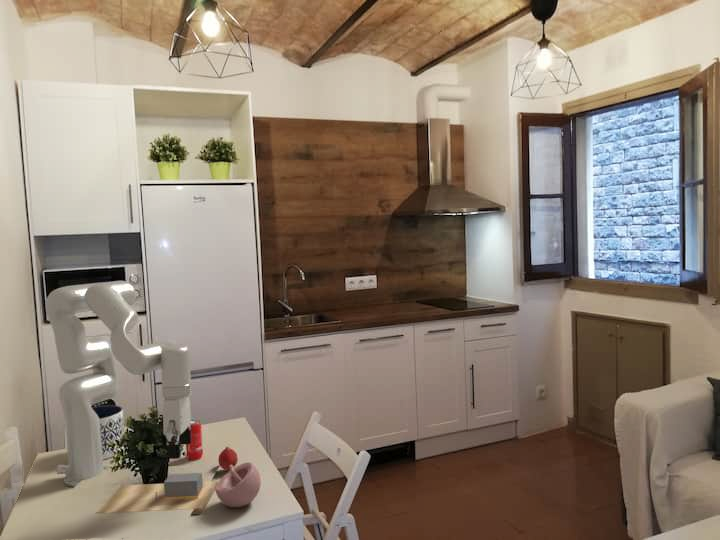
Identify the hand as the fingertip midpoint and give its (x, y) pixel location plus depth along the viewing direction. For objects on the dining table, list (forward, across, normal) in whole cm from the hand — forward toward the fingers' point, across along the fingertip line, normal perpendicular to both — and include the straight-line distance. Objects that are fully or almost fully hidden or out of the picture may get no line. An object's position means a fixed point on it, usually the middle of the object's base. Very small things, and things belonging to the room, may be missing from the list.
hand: (180, 450), depth 152 cm
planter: (+16, -38, -40) cm, 57 cm away
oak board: (+14, 0, -6) cm, 15 cm away
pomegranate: (+14, -18, +9) cm, 24 cm away
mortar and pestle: (+14, +4, +17) cm, 22 cm away
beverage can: (+15, -30, -5) cm, 33 cm away
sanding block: (+12, 0, +1) cm, 13 cm away
